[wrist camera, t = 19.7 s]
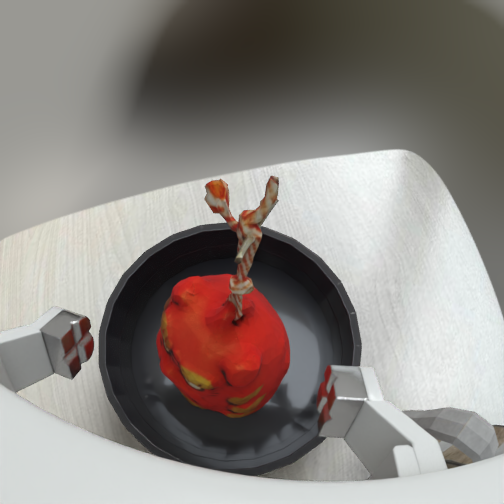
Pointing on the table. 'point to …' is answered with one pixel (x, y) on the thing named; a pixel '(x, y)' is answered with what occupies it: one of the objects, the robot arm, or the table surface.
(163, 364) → the red clay folk toy
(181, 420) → the pan
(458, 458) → the mug
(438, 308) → the table surface
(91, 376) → the table surface
